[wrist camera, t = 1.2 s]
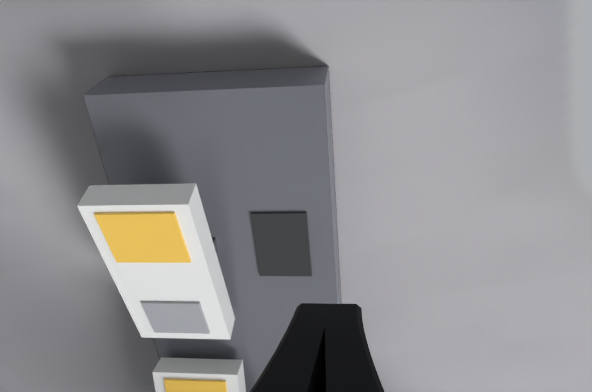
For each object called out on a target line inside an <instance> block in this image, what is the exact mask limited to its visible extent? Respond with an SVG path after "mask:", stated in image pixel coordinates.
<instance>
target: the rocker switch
mask: <svg viewBox="0 0 592 392" xmlns="http://www.w3.org/2000/svg"><path fill="white" fill-rule="evenodd" d="M152 374H153V379H154V385H155V391H156V392H246V386H245V377H244V368H243V360H233V359H197V358H162V357H161V358H160V360H159V362H158V363H157V365H156V367H155V368H154V370H153V372H152Z"/></svg>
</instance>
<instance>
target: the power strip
mask: <svg viewBox="0 0 592 392" xmlns="http://www.w3.org/2000/svg"><path fill="white" fill-rule="evenodd" d="M83 97H84V100H85V104H86V107H87V111H88V114H89V118H90V121H91V125H92V128H93V132H94V135H95V139H96V142H97V145H98V149H99V152H100V156H101V159H102V163H103V166H104V170H105V173H106V177H107V180H108V184H109V185H133V184H186V183H196V185H197V188H198V192H199V195H200V199H201V202H202V206H203V209H204V213H205V216H206V219H207V223H208V226H209V230H210V233H211V237H212V240H213V244H214V247H215V251H216V254H217V258H218V261H219V264H220V268H221V271H222V275H223V278H224V282H225V285H226V289H227V292H228V296H229V299H230V302H231V306H232V309H233V313H234V316H235V321H234V325H233V330H232V334H231V339H230V340H228V339H185V338H153V339H154V343H155V346H156V350H157V353H158V357H159V360H160V358H161V357H162V358H197V359H233V360H243V368H244V377H245V386H246V392H250V390H251V389H252V388H253V386H254V385H255V383H256V382H257V380H258V379H259V377H260V375H261V374H262V372H263V371H264V369H265V367H266V366H267V364H268V362H269V361H270V359H271V357H272V356H273V354H274V352H275V351H276V349H277V347H278V345H279V343H280V341H281V340H282V338H283V336H284V334H285V332H286V330H287V328H288V326H289V324H290V322H291V320H292V317H293V315H294V313H295V310H296V308H297V306H299V305H300V304H301V303H321V304H341V285H340V267H339V248H338V229H337V211H336V192H335V174H334V155H333V137H332V118H331V99H330V81H329V66H318V67H298V68H277V69H257V70H236V71H216V72H195V73H175V74H154V75H134V76H113V77H107V78H106V79H104V80H103V81H102V82H100V83H99V84H98V85H96V86H95V87H94V88H92V89H91V90H90V91H88V92H87V93H86V94H84V95H83Z"/></svg>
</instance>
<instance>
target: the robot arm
mask: <svg viewBox="0 0 592 392" xmlns="http://www.w3.org/2000/svg"><path fill="white" fill-rule="evenodd" d="M250 392H384V390H383V387H382V385H381V382H380V380H379V377H378V374H377V371H376V369H375V366H374V363H373V360H372V357H371V354H370V351H369V348H368V344H367V340H366V337H365V332H364V328H363V322H362V312H361V308H360V307H359V306H358V305H357V304H321V303H301V304H300V305H299V306H297V308H296V310H295V313H294V315H293V317H292V320H291V322H290V324H289V326H288V328H287V330H286V332H285V334H284V336H283V338H282V340H281V341H280V343H279V345H278V347H277V349H276V351H275V352H274V354H273V356H272V357H271V359H270V361H269V362H268V364H267V366H266V367H265V369H264V371H263V372H262V374H261V375H260V377H259V379H258V380H257V382H256V383H255V385H254V386H253V388H252V389H251V390H250Z"/></svg>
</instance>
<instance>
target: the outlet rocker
mask: <svg viewBox="0 0 592 392" xmlns="http://www.w3.org/2000/svg"><path fill="white" fill-rule="evenodd" d="M77 207H78V209H79V211H80V213H81V215H82V217H83V219H84V221H85V223H86V225H87V227H88V229H89V231H90V233H91V235H92V237H93V239H94V241H95V243H96V245H97V247H98V249H99V252H100V254H101V256H102V258H103V260H104V262H105V264H106V266H107V268H108V270H109V272H110V274H111V276H112V278H113V280H114V282H115V284H116V286H117V288H118V290H119V292H120V294H121V296H122V298H123V300H124V302H125V304H126V306H127V309H128V311H129V313H130V315H131V317H132V319H133V321H134V323H135V325H136V327H137V329H138V331H139V333H140V335H141V337H142V338H185V339H228V340H230V339H231V334H232V330H233V325H234V321H235V316H234V313H233V309H232V306H231V302H230V299H229V296H228V292H227V289H226V285H225V282H224V278H223V275H222V271H221V268H220V264H219V261H218V258H217V254H216V251H215V247H214V244H213V240H212V237H211V233H210V230H209V226H208V223H207V219H206V216H205V213H204V209H203V206H202V202H201V199H200V195H199V192H198V188H197V185H196V183H186V184H133V185H89V187H88V188H87V190H86V192H85V193H84V195H83V197H82V198H81V200H80V202H79V204H78V205H77Z"/></svg>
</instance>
